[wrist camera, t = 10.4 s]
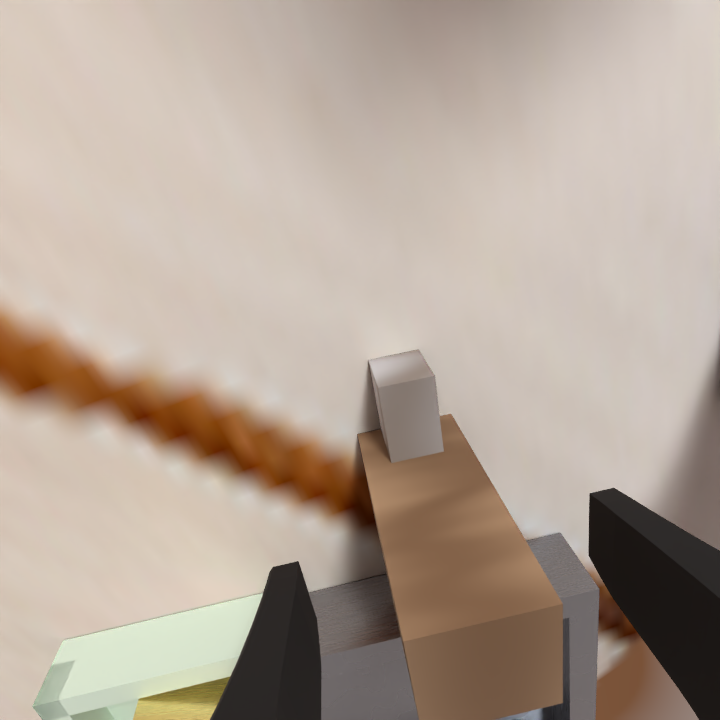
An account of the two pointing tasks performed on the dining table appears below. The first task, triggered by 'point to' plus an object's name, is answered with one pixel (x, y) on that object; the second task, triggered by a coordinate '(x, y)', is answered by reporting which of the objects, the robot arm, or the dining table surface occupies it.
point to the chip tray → (144, 661)
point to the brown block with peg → (455, 561)
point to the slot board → (387, 659)
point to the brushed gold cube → (182, 702)
